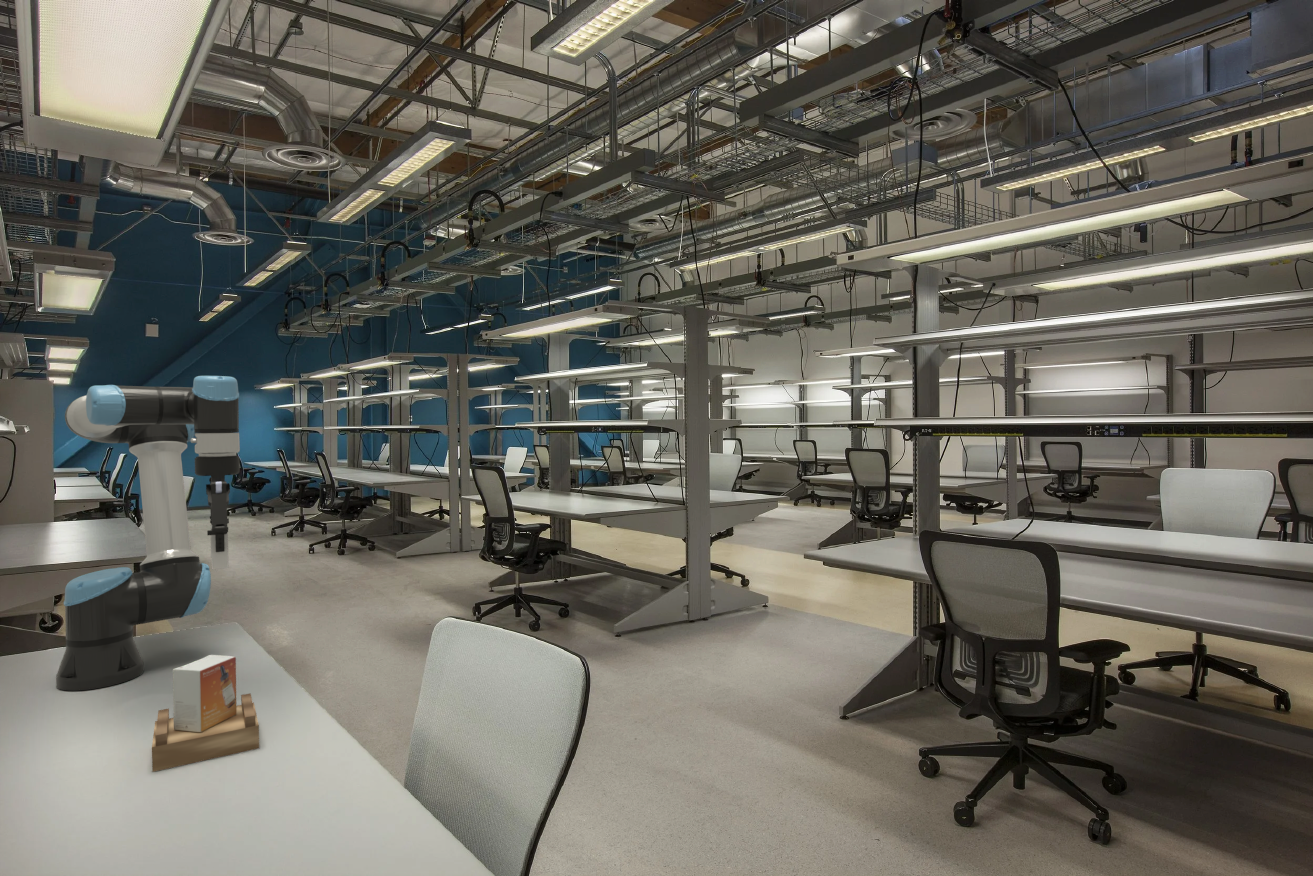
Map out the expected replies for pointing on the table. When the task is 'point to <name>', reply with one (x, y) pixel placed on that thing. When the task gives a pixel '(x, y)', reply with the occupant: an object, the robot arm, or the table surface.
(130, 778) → the table surface
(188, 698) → the small box
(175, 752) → the wooden tray
